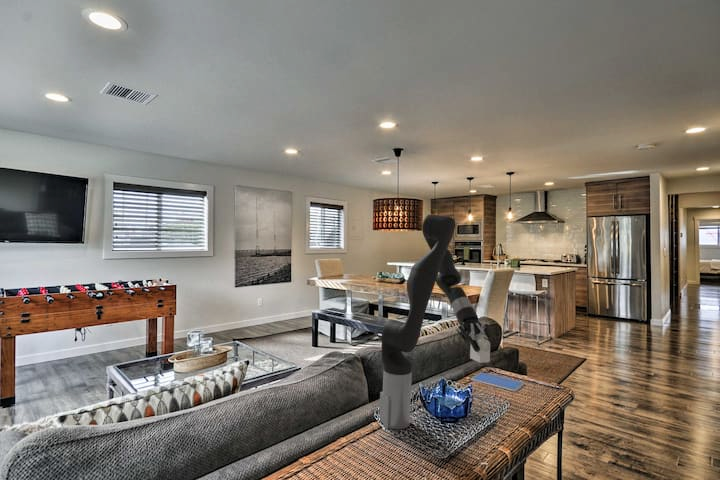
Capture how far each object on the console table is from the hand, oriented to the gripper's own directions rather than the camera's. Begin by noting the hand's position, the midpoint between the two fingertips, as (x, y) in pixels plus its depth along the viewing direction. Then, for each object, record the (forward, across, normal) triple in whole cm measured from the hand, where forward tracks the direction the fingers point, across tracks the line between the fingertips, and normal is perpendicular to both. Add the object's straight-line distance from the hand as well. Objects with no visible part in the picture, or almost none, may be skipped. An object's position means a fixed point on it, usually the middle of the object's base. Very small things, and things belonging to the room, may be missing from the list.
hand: (483, 350), depth 139 cm
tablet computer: (+2, +24, +29) cm, 38 cm away
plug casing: (+2, 0, +4) cm, 5 cm away
